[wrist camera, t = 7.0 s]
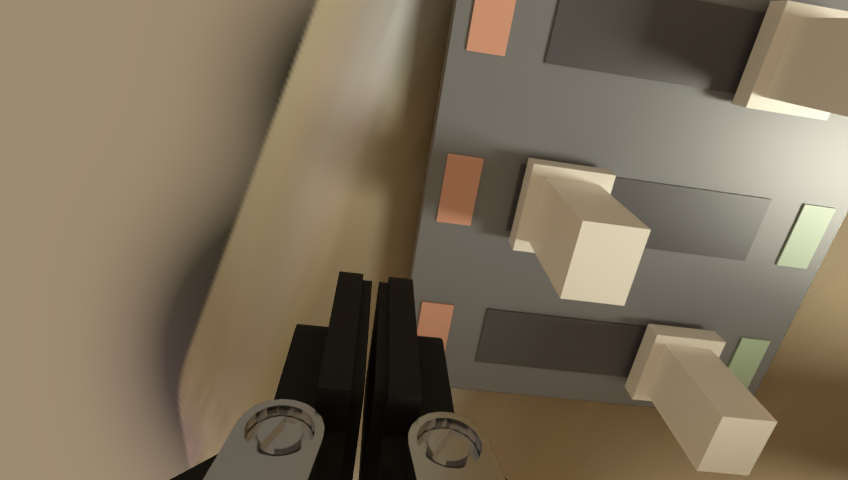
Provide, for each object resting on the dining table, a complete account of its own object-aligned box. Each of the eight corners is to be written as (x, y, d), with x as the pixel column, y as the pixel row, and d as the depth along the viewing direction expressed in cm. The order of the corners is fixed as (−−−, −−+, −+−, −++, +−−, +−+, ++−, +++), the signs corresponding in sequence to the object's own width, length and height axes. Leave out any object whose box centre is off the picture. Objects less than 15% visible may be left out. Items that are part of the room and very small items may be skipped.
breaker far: (687, 393, 28) (757, 484, 23) (624, 386, 28) (679, 478, 22) (714, 330, 27) (796, 413, 21) (648, 323, 26) (713, 405, 21)
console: (728, 398, 31) (745, 417, 30) (395, 364, 29) (394, 383, 28) (923, -6, 22) (960, -7, 21) (468, -93, 20) (473, -100, 19)
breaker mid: (583, 250, 25) (635, 319, 19) (508, 241, 24) (540, 308, 19) (607, 169, 23) (672, 218, 17) (528, 157, 23) (569, 204, 17)
